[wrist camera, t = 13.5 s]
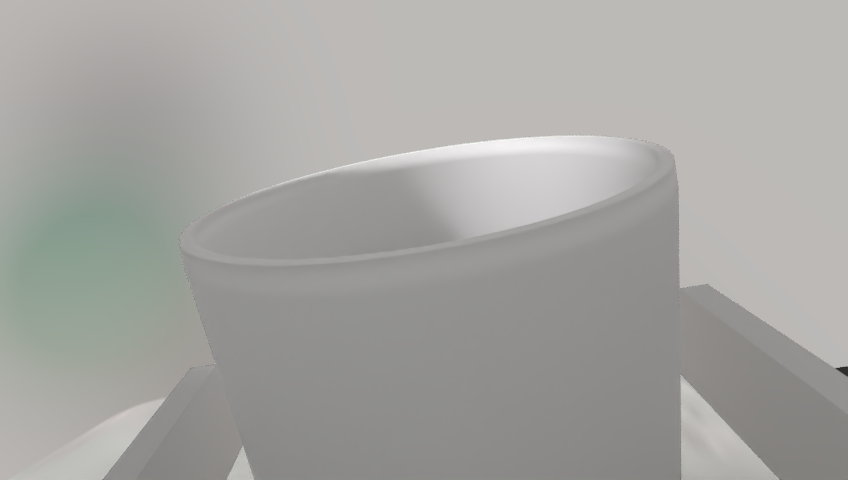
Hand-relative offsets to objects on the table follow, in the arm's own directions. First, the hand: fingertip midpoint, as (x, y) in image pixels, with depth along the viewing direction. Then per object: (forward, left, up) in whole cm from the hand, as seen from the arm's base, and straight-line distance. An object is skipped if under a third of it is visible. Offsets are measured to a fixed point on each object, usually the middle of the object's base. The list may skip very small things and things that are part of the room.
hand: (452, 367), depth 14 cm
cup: (+2, -3, -10) cm, 11 cm away
